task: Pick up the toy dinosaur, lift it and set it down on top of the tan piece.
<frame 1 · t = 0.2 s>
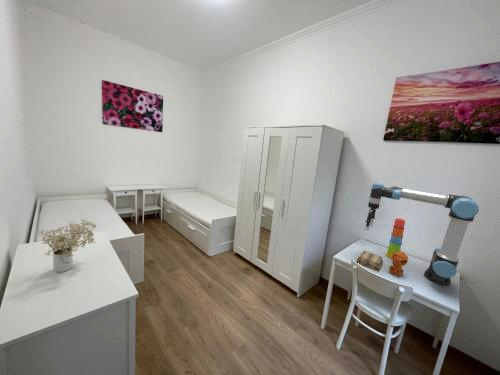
hand: (368, 228, 173), 28 cm above the table, fingers open, 13 cm apart
stacking cups: (392, 256, 188), on the table
tan piece: (369, 263, 173), on the table
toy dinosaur: (395, 273, 162), on the table
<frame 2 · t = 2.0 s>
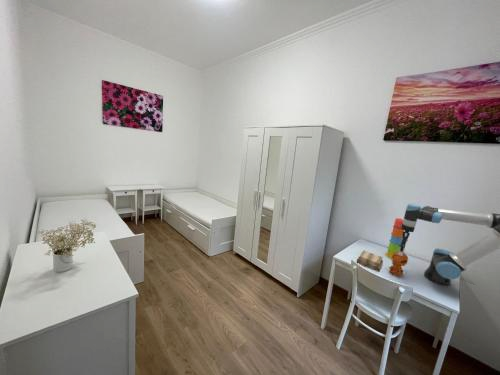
hand: (401, 252, 158), 18 cm above the table, fingers open, 13 cm apart
nothing on the table moved.
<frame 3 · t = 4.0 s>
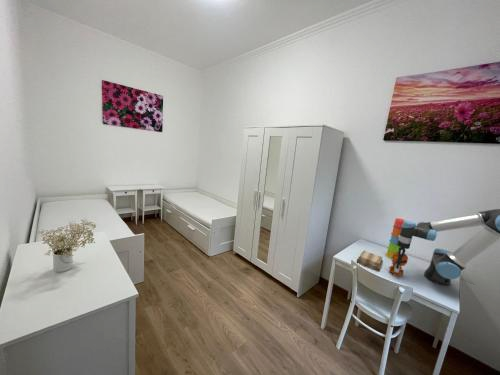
hand: (396, 269, 161), 4 cm above the table, fingers closed on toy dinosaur, 10 cm apart
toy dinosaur: (395, 273, 162), on the table, touching gripper
everything else where it was.
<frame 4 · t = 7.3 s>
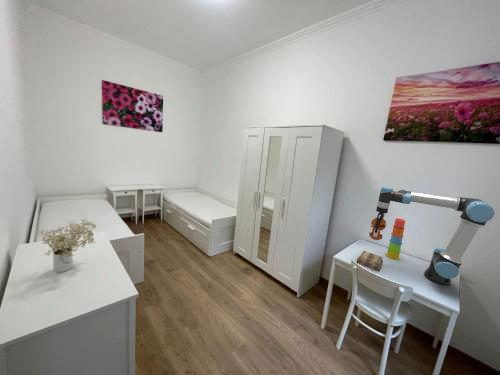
hand: (376, 234, 168), 25 cm above the table, fingers closed on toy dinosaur, 10 cm apart
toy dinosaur: (375, 238, 169), point 21 cm above the table, touching gripper
everything else where it was.
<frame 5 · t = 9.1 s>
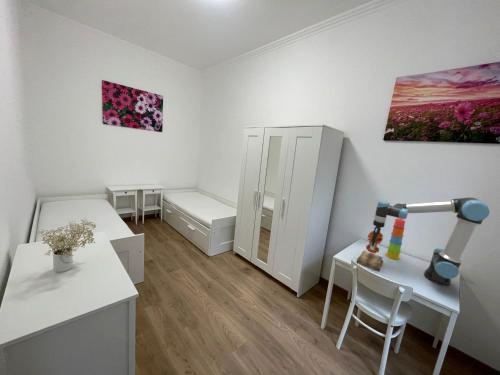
hand: (373, 247, 170), 14 cm above the table, fingers closed on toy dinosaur, 10 cm apart
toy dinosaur: (372, 251, 171), point 10 cm above the table, touching gripper
everything else where it was.
when the fingers open (11 cm above the table, at t = 10.7 s): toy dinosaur drops 1 cm, resting on tan piece.
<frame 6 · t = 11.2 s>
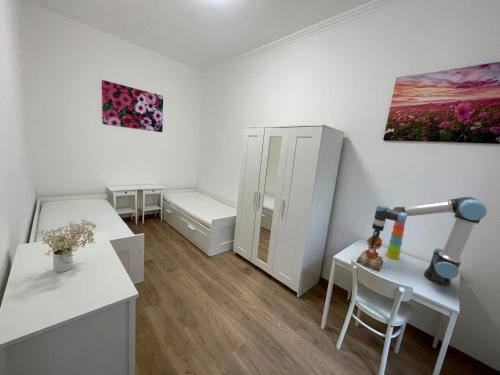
hand: (372, 249, 170), 12 cm above the table, fingers open, 13 cm apart
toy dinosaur: (371, 256, 172), point 6 cm above the table, touching tan piece
everything else where it was.
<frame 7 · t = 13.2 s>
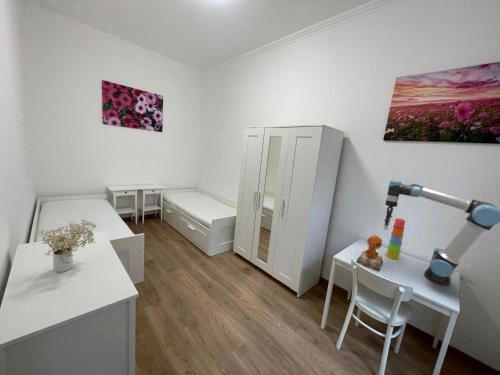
hand: (386, 227, 167), 32 cm above the table, fingers open, 13 cm apart
nothing on the table moved.
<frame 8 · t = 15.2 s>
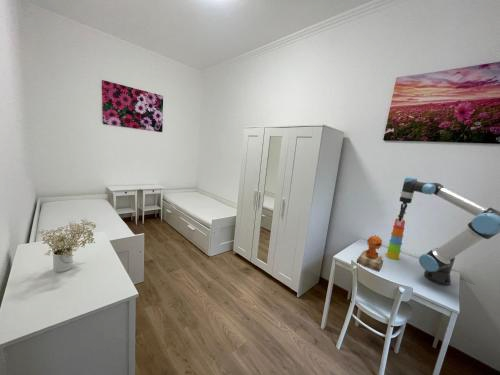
hand: (399, 223, 170), 35 cm above the table, fingers open, 13 cm apart
nothing on the table moved.
at the end: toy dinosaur inside the target area on the tan piece (0.7 cm from its centre), point 5.8 cm above the tan piece's base; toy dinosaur tilted 0°; the gripper is holding nothing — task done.
